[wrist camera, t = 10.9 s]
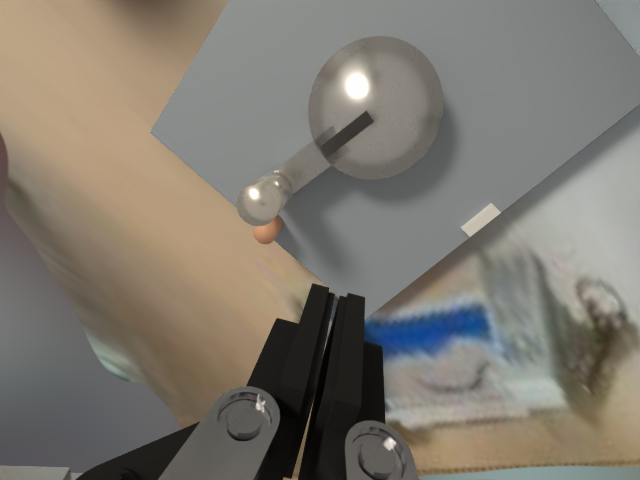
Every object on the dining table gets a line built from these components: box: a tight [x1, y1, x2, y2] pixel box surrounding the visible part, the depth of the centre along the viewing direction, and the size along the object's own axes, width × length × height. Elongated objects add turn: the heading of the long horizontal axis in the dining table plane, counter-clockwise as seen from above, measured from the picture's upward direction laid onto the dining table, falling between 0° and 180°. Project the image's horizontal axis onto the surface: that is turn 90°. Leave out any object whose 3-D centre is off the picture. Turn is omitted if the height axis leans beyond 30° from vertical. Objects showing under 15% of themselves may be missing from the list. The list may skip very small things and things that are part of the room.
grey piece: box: [236, 36, 444, 226], centre depth 25 cm, size 16×10×8 cm, turn 128°
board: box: [150, 0, 640, 319], centre depth 27 cm, size 28×30×5 cm
